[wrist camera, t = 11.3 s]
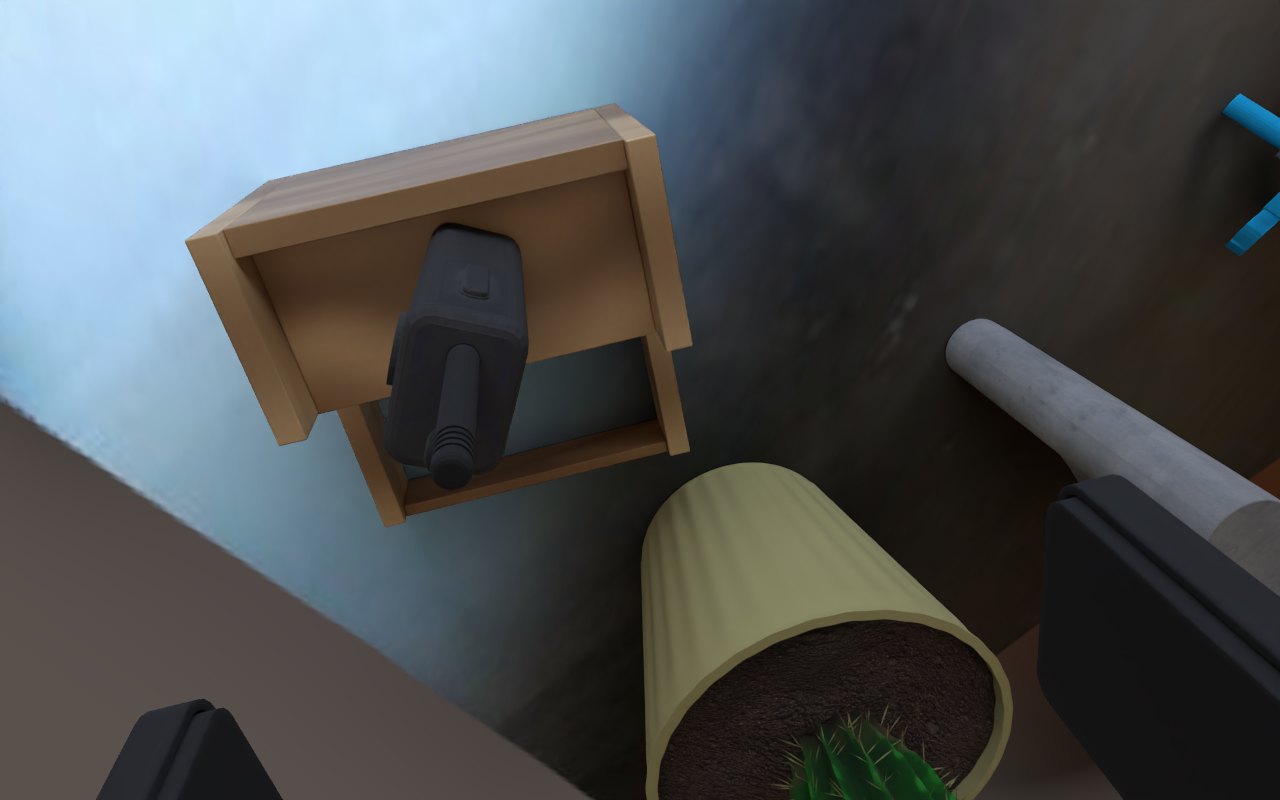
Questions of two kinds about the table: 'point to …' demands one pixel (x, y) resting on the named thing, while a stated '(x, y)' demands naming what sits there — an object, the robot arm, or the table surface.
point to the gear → (1276, 134)
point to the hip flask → (1120, 444)
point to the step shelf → (391, 263)
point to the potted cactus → (803, 656)
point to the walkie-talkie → (458, 356)
